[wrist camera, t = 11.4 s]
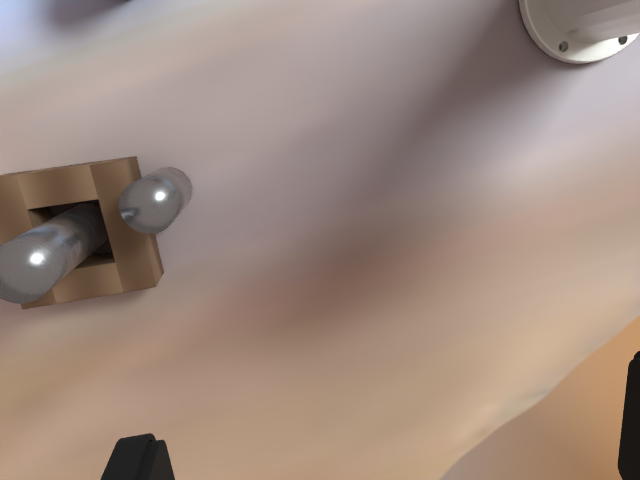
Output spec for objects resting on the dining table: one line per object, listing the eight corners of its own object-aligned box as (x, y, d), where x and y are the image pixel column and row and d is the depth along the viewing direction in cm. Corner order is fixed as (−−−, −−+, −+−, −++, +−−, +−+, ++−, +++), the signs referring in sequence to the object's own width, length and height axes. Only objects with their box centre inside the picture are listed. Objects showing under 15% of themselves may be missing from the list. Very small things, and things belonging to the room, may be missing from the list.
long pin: (106, 200, 37) (41, 238, 25) (117, 242, 38) (59, 297, 26) (59, 207, 36) (-28, 249, 25) (72, 249, 37) (-6, 308, 26)
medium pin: (186, 164, 37) (169, 175, 29) (196, 206, 38) (181, 228, 30) (142, 170, 37) (112, 184, 29) (152, 213, 38) (126, 237, 30)
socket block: (136, 156, 36) (124, 160, 33) (163, 272, 39) (155, 286, 36) (4, 174, 35) (-22, 180, 32) (42, 292, 38) (22, 309, 34)
